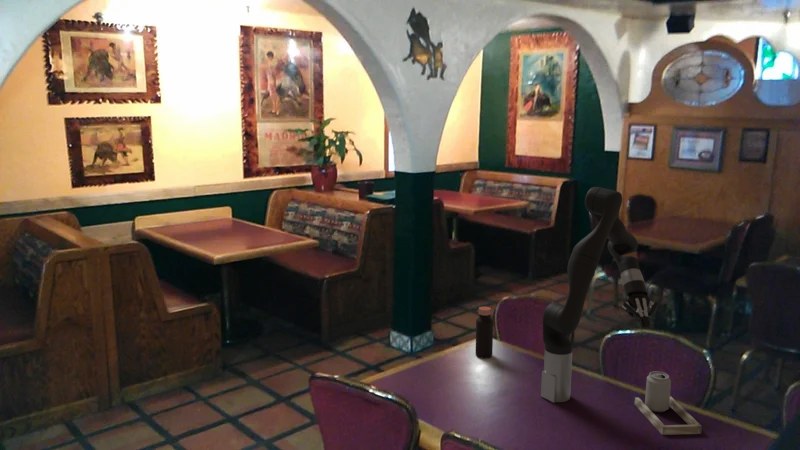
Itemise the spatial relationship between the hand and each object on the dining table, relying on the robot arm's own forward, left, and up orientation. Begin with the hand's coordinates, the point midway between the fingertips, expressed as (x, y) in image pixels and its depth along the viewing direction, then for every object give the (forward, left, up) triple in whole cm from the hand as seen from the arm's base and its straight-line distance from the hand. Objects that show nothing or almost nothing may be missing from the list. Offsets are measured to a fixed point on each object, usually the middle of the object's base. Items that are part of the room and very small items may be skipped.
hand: (646, 328), depth 219 cm
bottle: (-24, +56, -24) cm, 66 cm away
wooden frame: (-9, -16, -24) cm, 30 cm away
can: (-6, -10, -24) cm, 27 cm away
